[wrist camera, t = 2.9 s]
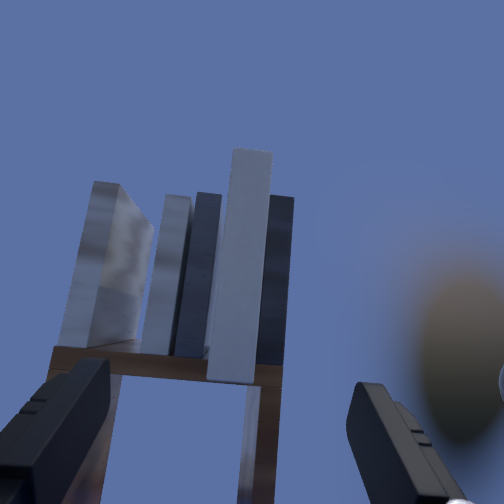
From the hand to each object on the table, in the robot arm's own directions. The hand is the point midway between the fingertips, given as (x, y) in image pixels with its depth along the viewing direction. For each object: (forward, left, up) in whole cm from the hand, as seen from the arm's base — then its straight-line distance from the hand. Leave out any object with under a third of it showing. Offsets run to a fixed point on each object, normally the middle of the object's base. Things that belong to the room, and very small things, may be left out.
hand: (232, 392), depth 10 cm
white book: (-4, -14, 0) cm, 14 cm away
